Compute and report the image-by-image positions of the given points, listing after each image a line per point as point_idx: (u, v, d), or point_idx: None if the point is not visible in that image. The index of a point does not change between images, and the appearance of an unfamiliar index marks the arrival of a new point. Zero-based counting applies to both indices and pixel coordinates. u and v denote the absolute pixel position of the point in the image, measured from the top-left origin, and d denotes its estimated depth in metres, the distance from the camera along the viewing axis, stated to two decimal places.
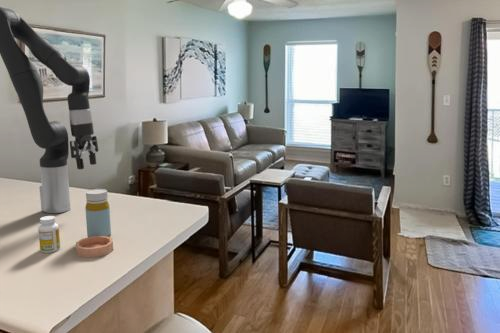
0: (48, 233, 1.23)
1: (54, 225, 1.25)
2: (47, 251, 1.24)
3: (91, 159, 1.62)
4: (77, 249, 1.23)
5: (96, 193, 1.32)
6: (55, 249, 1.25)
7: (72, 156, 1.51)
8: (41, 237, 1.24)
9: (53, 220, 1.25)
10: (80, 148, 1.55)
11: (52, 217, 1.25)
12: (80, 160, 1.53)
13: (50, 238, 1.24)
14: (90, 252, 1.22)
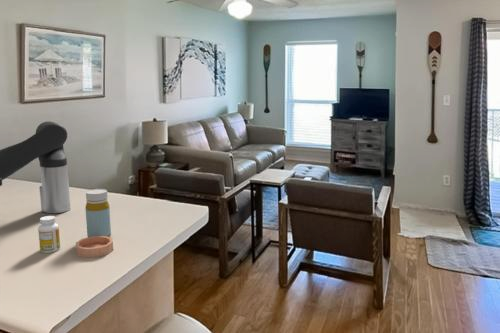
0: (48, 233, 1.23)
1: (54, 225, 1.25)
2: (47, 251, 1.24)
3: None
4: (77, 249, 1.23)
5: (96, 193, 1.32)
6: (55, 249, 1.25)
7: None
8: (41, 237, 1.24)
9: (53, 220, 1.25)
10: None
11: (52, 217, 1.25)
12: None
13: (50, 238, 1.24)
14: (90, 252, 1.22)
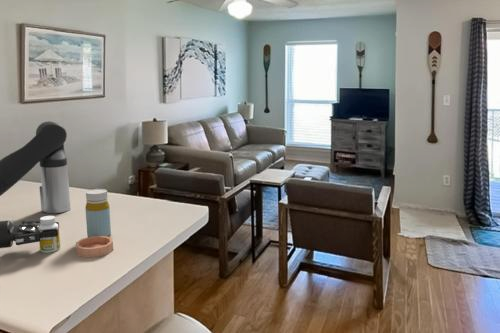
0: None
1: (54, 225, 1.25)
2: (47, 251, 1.24)
3: None
4: (77, 249, 1.23)
5: (96, 193, 1.32)
6: (55, 249, 1.25)
7: (37, 240, 1.20)
8: None
9: (53, 220, 1.25)
10: (28, 234, 1.22)
11: (52, 217, 1.25)
12: (44, 231, 1.22)
13: (50, 238, 1.24)
14: (90, 252, 1.22)
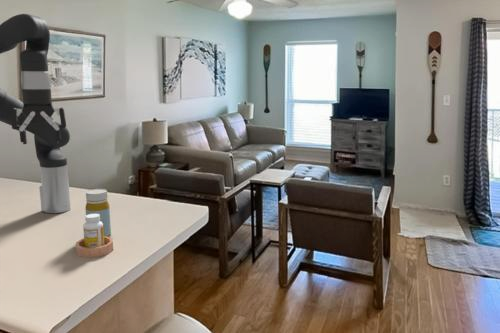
0: (93, 231, 1.23)
1: (99, 223, 1.25)
2: None
3: (25, 137, 1.27)
4: (77, 249, 1.23)
5: (96, 193, 1.32)
6: None
7: (65, 125, 1.29)
8: (86, 235, 1.23)
9: (98, 218, 1.24)
10: None
11: (97, 215, 1.25)
12: None
13: (95, 236, 1.24)
14: (90, 252, 1.22)
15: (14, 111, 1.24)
